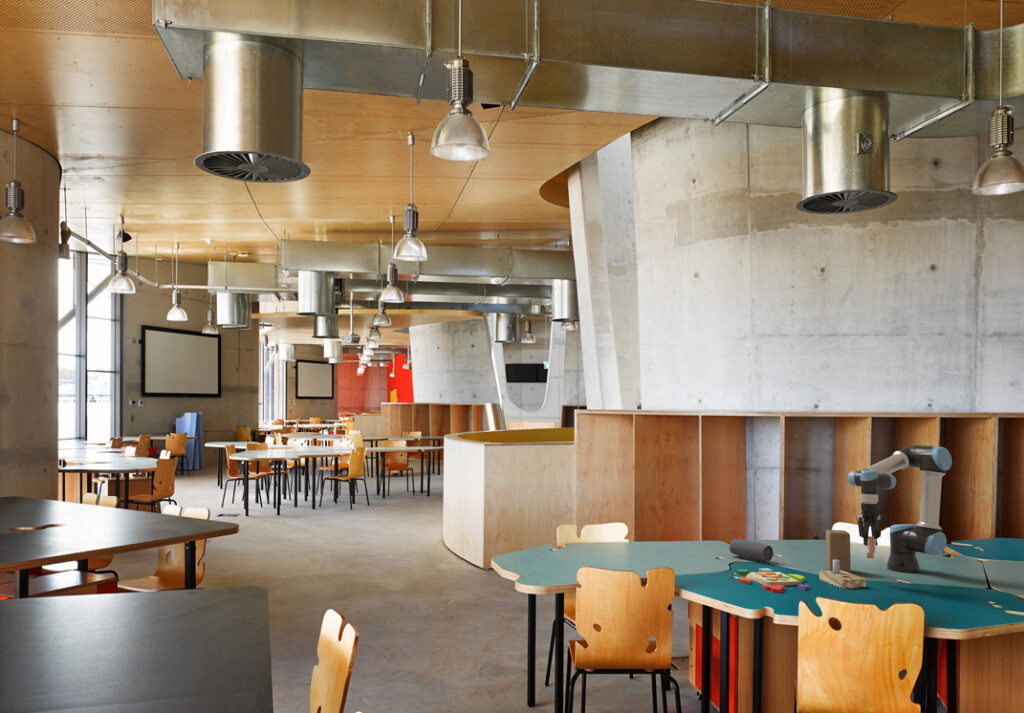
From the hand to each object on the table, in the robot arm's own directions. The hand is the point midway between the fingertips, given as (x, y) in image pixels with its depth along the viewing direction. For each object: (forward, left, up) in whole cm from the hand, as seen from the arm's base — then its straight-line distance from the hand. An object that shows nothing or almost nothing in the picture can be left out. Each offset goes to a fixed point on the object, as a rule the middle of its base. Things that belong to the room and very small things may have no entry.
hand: (870, 552), depth 362 cm
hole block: (+14, -1, -15) cm, 21 cm away
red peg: (0, 0, -3) cm, 3 cm away
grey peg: (+14, -6, -15) cm, 21 cm away
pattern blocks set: (+45, -10, -15) cm, 49 cm away
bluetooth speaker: (+30, -58, -15) cm, 67 cm away
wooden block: (-1, -26, -15) cm, 30 cm away
